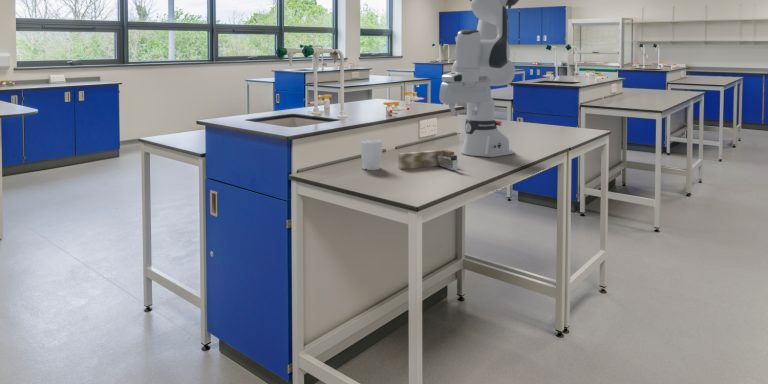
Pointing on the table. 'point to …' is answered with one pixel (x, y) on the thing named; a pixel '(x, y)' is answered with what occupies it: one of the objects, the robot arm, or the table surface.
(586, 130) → the table surface
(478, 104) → the robot arm
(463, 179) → the table surface
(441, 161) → the crank handle
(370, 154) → the white cup
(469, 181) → the table surface
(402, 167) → the wooden l-bracket
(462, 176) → the table surface
